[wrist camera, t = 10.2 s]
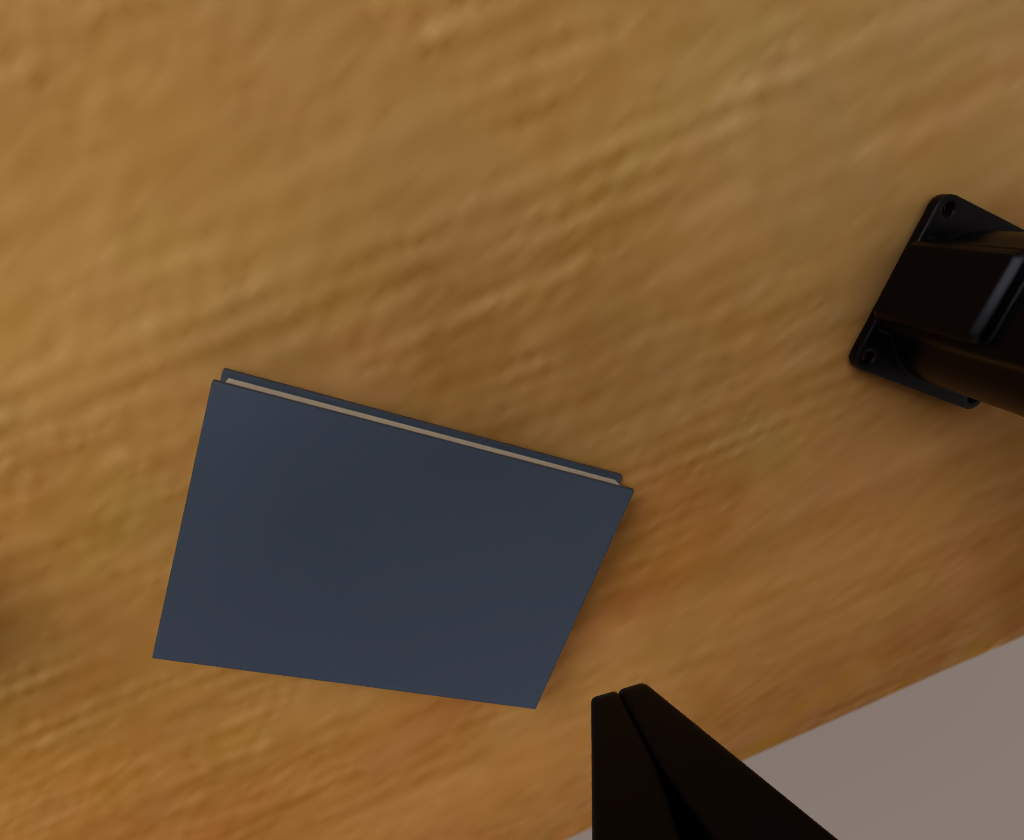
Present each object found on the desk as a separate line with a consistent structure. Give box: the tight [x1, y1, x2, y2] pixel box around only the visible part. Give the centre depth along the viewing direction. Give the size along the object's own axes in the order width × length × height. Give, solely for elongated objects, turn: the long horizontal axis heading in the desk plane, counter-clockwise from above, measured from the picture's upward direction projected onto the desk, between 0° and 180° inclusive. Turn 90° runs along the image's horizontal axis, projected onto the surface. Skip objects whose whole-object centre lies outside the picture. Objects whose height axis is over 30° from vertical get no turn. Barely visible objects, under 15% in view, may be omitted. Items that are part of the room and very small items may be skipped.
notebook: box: [152, 368, 634, 709], centre depth 21 cm, size 14×10×1 cm
